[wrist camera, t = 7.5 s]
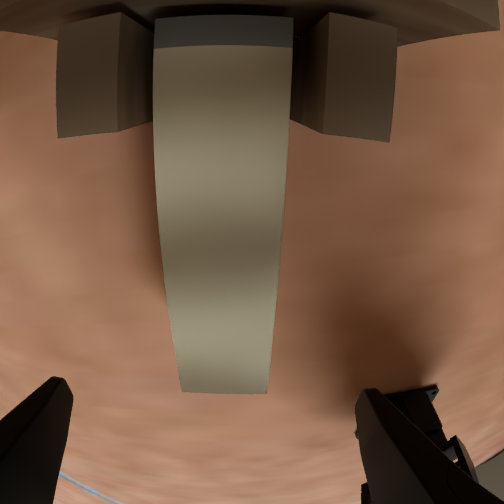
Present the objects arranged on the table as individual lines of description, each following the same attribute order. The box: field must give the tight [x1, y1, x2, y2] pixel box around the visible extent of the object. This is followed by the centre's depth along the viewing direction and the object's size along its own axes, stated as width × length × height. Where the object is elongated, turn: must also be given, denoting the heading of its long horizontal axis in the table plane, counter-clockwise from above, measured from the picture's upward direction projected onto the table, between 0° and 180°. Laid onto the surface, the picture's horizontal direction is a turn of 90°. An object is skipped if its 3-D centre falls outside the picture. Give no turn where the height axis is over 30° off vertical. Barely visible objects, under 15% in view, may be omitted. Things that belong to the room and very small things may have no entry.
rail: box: [153, 15, 294, 394], centre depth 13 cm, size 15×4×5 cm, turn 178°
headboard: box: [0, 0, 500, 142], centre depth 8 cm, size 6×14×8 cm, turn 88°
